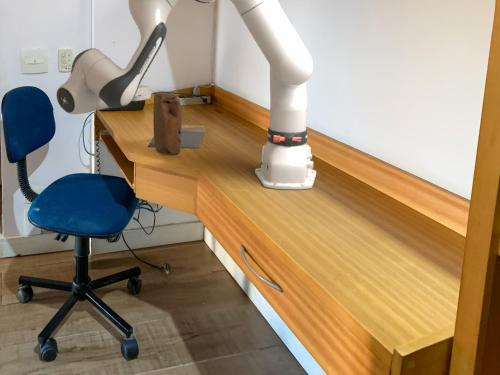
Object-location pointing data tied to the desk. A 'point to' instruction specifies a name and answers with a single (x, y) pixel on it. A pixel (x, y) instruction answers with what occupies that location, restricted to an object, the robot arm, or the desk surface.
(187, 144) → the mat
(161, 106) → the block
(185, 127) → the stop strip
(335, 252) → the desk surface
